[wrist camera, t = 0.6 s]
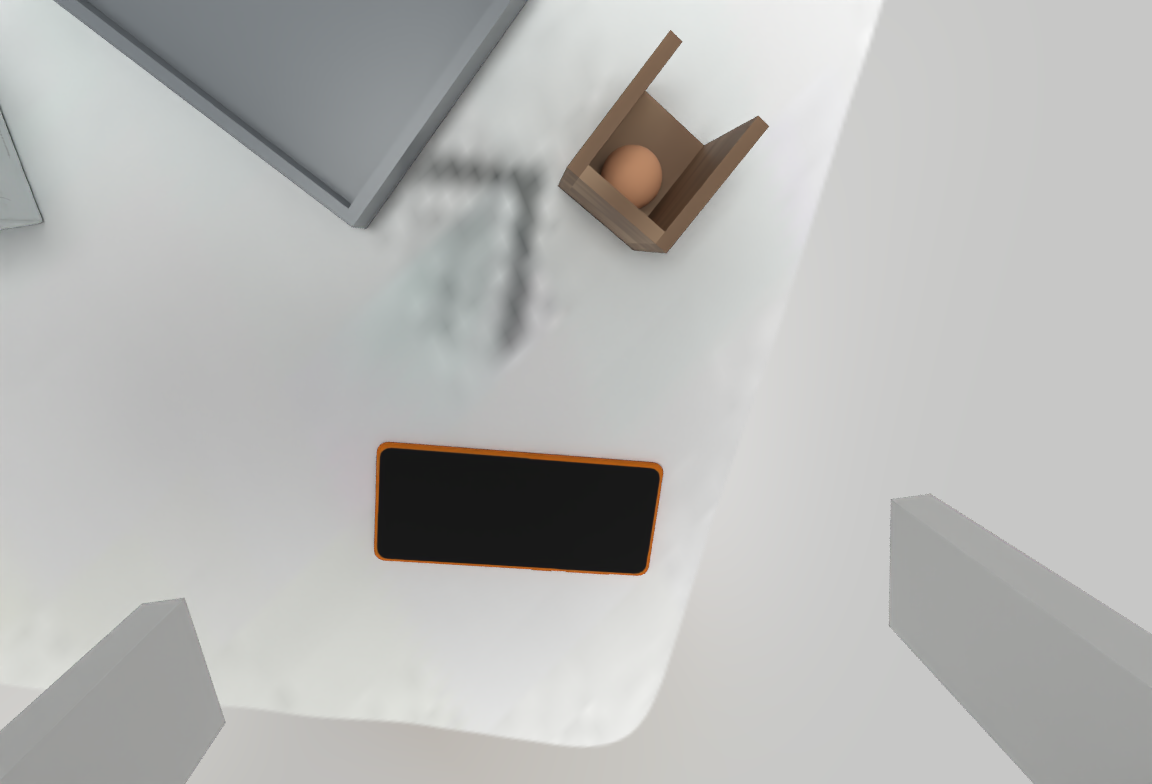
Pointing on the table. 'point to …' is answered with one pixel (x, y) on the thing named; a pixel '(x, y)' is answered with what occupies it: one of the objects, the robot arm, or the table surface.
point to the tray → (314, 78)
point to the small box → (14, 187)
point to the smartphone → (514, 509)
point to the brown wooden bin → (680, 154)
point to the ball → (634, 173)
